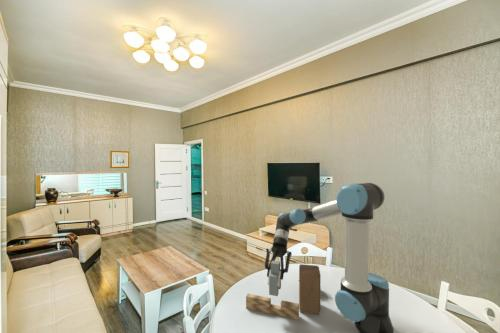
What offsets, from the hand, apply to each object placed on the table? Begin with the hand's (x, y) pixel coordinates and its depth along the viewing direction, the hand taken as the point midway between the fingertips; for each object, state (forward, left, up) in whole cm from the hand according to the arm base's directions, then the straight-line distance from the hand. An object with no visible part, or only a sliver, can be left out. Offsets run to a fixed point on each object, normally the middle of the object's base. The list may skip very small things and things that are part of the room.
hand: (273, 285), depth 108 cm
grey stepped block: (+2, -3, -5) cm, 6 cm away
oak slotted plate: (+3, -3, -15) cm, 16 cm away
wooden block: (-9, -18, -15) cm, 26 cm away
